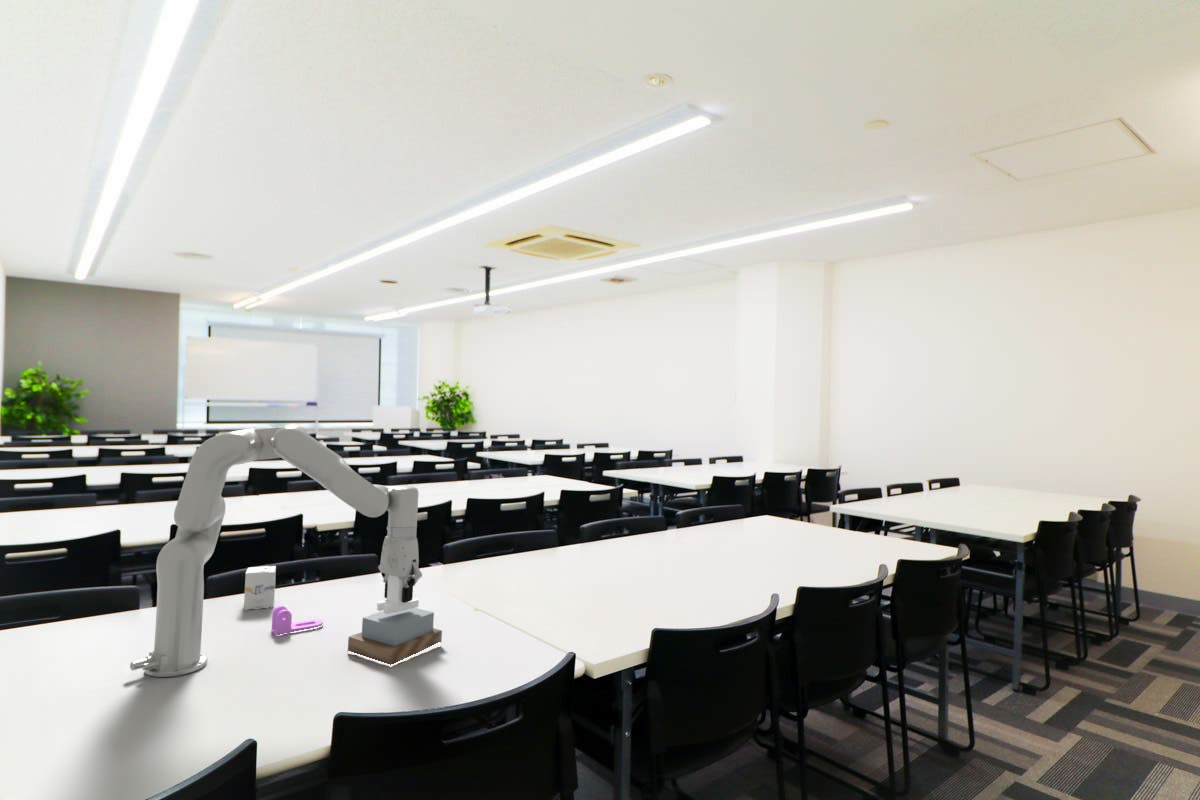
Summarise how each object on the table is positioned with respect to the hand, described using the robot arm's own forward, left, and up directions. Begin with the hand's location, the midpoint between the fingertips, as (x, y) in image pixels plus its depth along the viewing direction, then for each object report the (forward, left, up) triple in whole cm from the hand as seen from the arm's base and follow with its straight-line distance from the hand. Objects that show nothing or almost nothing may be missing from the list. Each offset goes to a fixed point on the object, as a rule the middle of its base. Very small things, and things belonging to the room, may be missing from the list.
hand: (398, 598), depth 172 cm
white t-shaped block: (0, 0, -3) cm, 3 cm away
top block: (0, 0, -10) cm, 10 cm away
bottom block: (0, 0, -15) cm, 15 cm away
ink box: (+2, +63, -14) cm, 65 cm away
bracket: (-4, +34, -14) cm, 37 cm away
